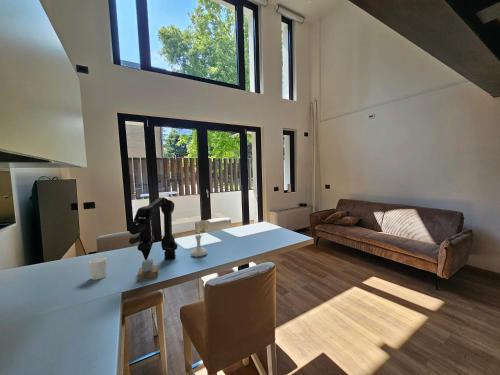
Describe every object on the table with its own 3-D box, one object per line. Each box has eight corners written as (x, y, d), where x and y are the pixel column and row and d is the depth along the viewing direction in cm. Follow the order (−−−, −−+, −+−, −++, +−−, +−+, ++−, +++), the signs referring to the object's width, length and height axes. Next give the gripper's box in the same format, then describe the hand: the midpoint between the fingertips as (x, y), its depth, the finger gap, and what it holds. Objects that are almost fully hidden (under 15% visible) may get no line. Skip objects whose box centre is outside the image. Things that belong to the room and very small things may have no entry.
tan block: (158, 270, 127) (157, 264, 126) (157, 278, 117) (157, 271, 117) (139, 274, 123) (139, 267, 123) (137, 282, 114) (137, 274, 113)
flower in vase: (195, 259, 141) (193, 223, 140) (188, 255, 150) (186, 220, 148) (212, 254, 150) (210, 220, 148) (204, 250, 158) (203, 217, 157)
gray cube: (153, 267, 123) (152, 258, 122) (152, 270, 118) (151, 262, 118) (143, 268, 121) (143, 260, 121) (142, 272, 116) (141, 263, 116)
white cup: (92, 275, 122) (91, 258, 121) (108, 272, 125) (107, 256, 124) (88, 281, 115) (87, 263, 114) (105, 278, 118) (104, 261, 117)
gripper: (133, 227, 125) (134, 253, 125) (125, 235, 107) (127, 265, 108) (153, 225, 128) (154, 250, 129) (149, 233, 111) (151, 262, 111)
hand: (147, 256), depth 119 cm, fingers open, 9 cm apart
